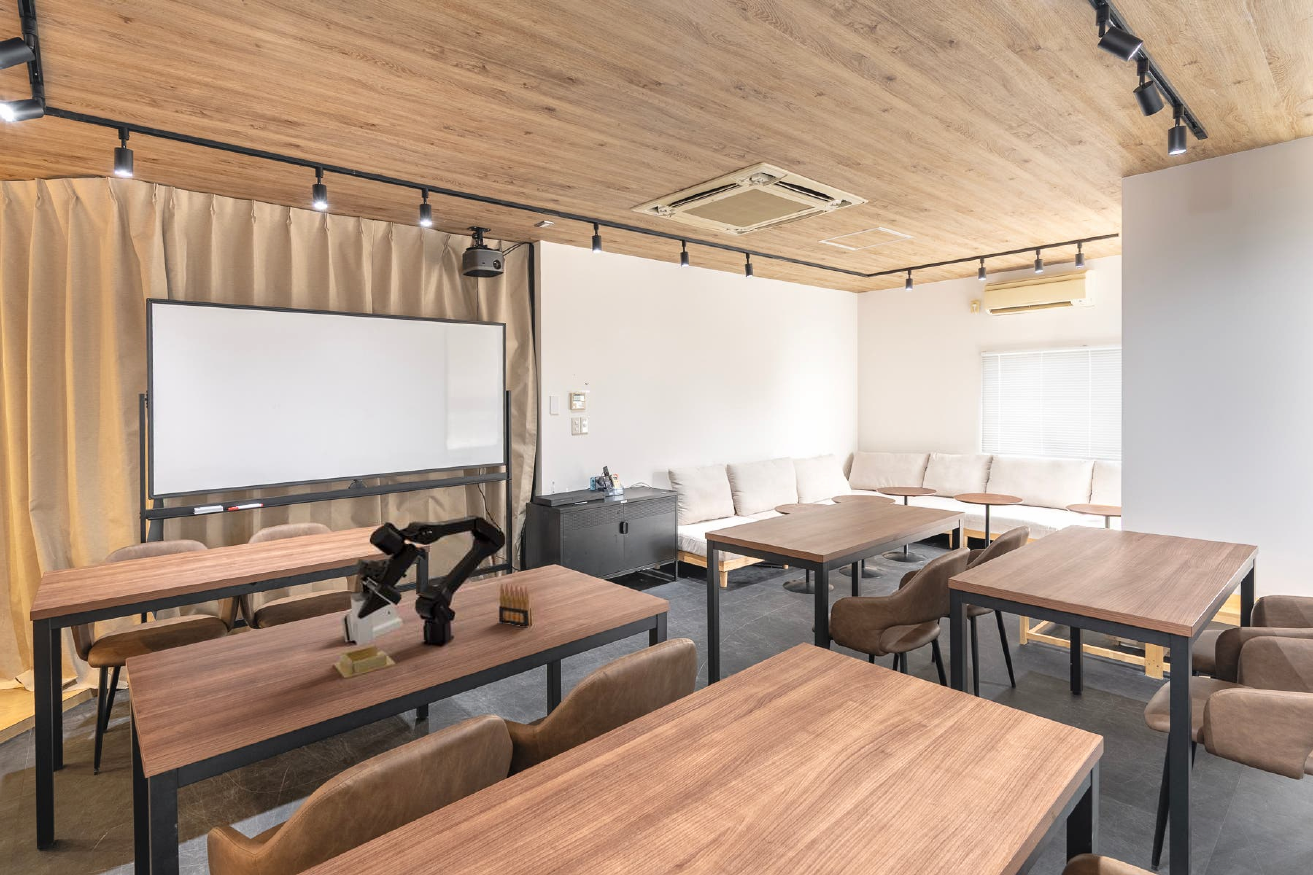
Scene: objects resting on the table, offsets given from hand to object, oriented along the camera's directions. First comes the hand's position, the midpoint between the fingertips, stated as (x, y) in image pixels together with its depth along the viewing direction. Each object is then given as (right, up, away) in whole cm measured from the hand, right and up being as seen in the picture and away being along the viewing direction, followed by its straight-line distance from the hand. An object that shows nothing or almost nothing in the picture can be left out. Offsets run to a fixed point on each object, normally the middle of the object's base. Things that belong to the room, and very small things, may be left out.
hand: (356, 615), depth 163 cm
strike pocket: (+1, -13, +2) cm, 13 cm away
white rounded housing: (-7, -12, +24) cm, 28 cm away
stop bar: (+1, -7, +1) cm, 7 cm away
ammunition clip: (+34, -11, +29) cm, 46 cm away
